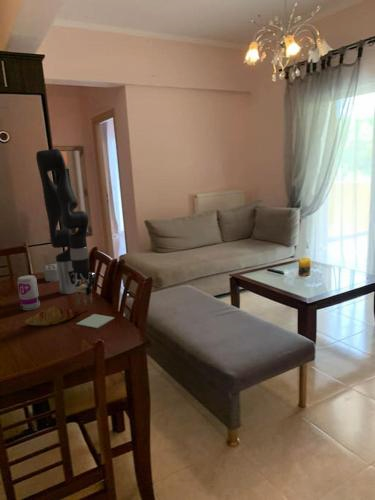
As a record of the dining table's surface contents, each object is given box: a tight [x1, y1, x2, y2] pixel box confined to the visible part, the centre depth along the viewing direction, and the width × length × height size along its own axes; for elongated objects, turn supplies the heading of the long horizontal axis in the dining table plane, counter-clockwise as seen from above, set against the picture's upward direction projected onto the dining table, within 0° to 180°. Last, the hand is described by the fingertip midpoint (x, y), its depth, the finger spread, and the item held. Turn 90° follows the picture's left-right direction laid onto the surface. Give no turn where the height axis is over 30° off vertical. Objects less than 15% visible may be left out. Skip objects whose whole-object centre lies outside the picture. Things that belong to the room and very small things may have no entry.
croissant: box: [25, 305, 79, 327], centre depth 157 cm, size 21×10×8 cm, turn 112°
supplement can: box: [16, 274, 41, 311], centre depth 174 cm, size 8×8×15 cm
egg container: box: [43, 262, 59, 283], centre depth 223 cm, size 10×13×9 cm
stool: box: [75, 283, 93, 307], centre depth 167 cm, size 5×5×8 cm
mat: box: [75, 313, 115, 329], centre depth 155 cm, size 11×11×1 cm
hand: (83, 293), depth 167 cm, fingers closed on stool, 5 cm apart
